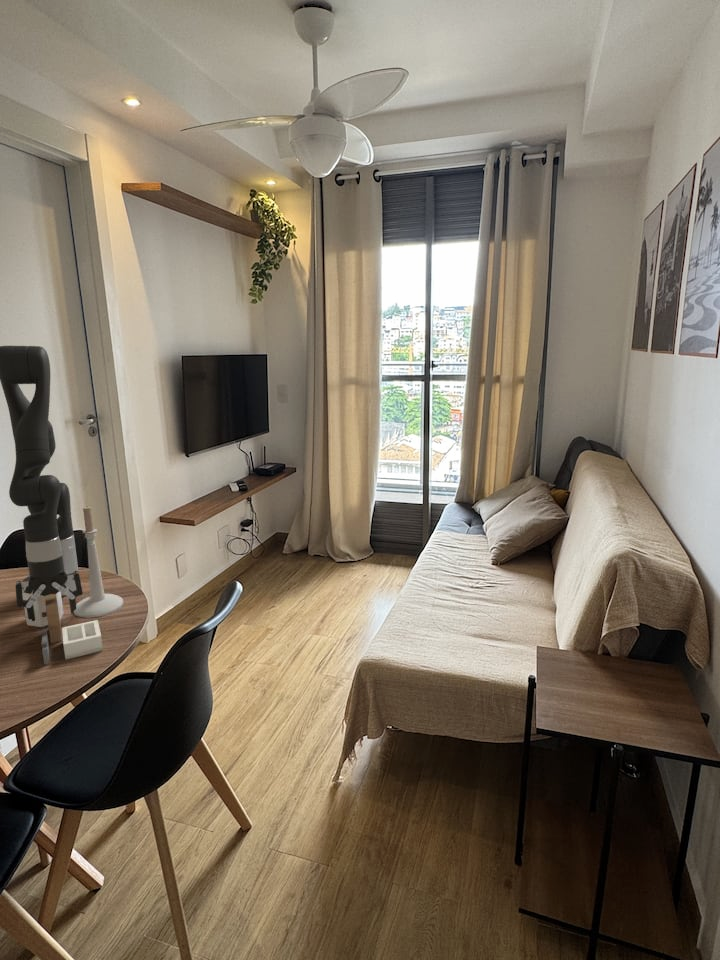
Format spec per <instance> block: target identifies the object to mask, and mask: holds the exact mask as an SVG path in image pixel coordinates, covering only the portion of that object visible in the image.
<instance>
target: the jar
mask: <svg viewBox="0 0 720 960" xmlns="http://www.w3.org/2000/svg"><path fill="white" fill-rule="evenodd" d="M29 579H30V576H27V577H25V578H24V579H22V581H21V582H26V581H29ZM32 592H33V589H31V588H30V587H29V586H27V587H26V589H25V591H22V594H23V600H28V598H29V597H30V595H31V593H32ZM56 596H57V604H58V611H59V618H60V621H61V619H62V618H63V616H64V606H63V600H62V596H61V592H60V591H59V592H58V593H57V594H56ZM33 606H34V613H35V621H32V619H30V620H29V619H28V614H27V608H26V607H23V609H24V613H25V614H24V615H25V620H26V625H27V626H30V627H37V628H38V627H39V628H43V627H46V626H47V627H48V620H47V617H43V618H42V612H46V605H45V596H43V595H39V597H38V598H37V600H36V601H35V602H34V603H33Z"/></svg>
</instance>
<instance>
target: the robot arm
mask: <svg viewBox="0 0 720 960" xmlns="http://www.w3.org/2000/svg"><path fill="white" fill-rule="evenodd" d="M0 384H1V387H2V390H3V394H4V398H5V400H6V401H5V402H6V405H7V409H8V413H9V418H10V423H11V424H10V425H11V429H12V436H13V440H14V446H15V447H14V449H15V465H14V471H13V475H12V479H11V482H10V485H9V489H8V494H9V499H10V500H11V502H12V504H14V505H15V506H18V507H27V509H28V513H29V514H30V515H26V516H24V519H23V520H22V523H23V525H22V526H23V532H24V538H25V539H24V540H25V553H26V554H25V557H26V561H27V568H28V574H29V576H30V579H29V581H26V582H22V581H21V580H17V581H16V582H15V595H16V596H15V597H16V607H17V608H24V607H26V608H27V614H28V619H29V620H30V619H32V621H35V613H34V606H33V603H34V602H35V601H36V600H37V598H38V597H39V595H43V596H47V595H49V594H57V593H58V592H59V591H60V592H61V597H64V596H66V597H67V598H68V600H69V609H70V613H71V614H74V610H76V604H77V601H76V598H77V597H79V596H82V595H83V594H84V592H83V588H82V583H81V578H80V573H79V566H78V565H79V564H78V557H77V550H76V542H75V541H76V540H75V533H74V528H73V520H72V511H71V510H72V509H71V508H72V507H71V493H70V490H69V487H68V484H66V483H65V482H61V481H60V480H59V479H58V477H56V476H54V475H53V474H52V475H51V474H45V475H44V474H43V475H41V473H42V472H43V471H44V469H45V468H46V466H47V465H49V464H50V462H51V458H52V457H53V455H54V454H55V449H56V448H57V447H56V440H55V434H54V433H55V432H54V428H53V424H52V422H50V420H49V416H50V400H51V399H50V398H51V397H50V396H51V364H50V358H49V354H48V352H47V350H46V349H45V348H44V347H42V346H40V345H39V346H38V345H37V346H36V345H0ZM20 385H35V390H34V394H33V396H32V399H31V401H30V400H29V399H28V398H27V397H26V396H25V394H24V392H23V391H22V389H21V387H20ZM57 516H58V517H57ZM29 576H28V577H29ZM27 586H29V587H30V588H31V589H33V592H32V593H31V595H30V597H29V598H28V600H23V594H22V593H23V591H25V589H26V587H27Z"/></svg>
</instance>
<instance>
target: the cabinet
mask: <svg viewBox="0 0 720 960" xmlns="http://www.w3.org/2000/svg"><path fill="white" fill-rule="evenodd" d="M99 625H100V624H99V620H98V619H95V620H92V621H86V622H82V623H77V624H73V625H68V626H64V627H61V635H62V643H63V651H64V652H63V653H64V658H65V660H66V661H67V660H70V659H74V658H78V657H82V656H87V655H91V654H95V653H98V652H102V651H104V649H103V641H102V639H103V638H102V634H101V628H100V626H99ZM40 632H41V650H42V657H43V664H44V666H45V665H47V666H48V665H50V643H49V638H48V637H49V636H48V631H47V629H46V628H42V629H41V631H40Z"/></svg>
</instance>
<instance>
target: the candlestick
mask: <svg viewBox="0 0 720 960" xmlns="http://www.w3.org/2000/svg"><path fill="white" fill-rule="evenodd" d="M82 510H83V511H82V512H83V519H84V528H85V529H84V530H82V533H83V534H84V537H85V539H87V544H86V545H87V558H88V560H87V561H88V575H89V576H88V577H89V592H90V594H89V595H90V596H87V597H84V598H83V599H82V600H80V601H79V602H76V610H74V613H73V614H74V615H75V616H76V617H79V618H84V619H87V618H88V619H89V618H90V619H93V618H100V617H104V616H108V615H110V614H113V613H115V612H116V611H119V610H120V609H121V608H122V607H123V606H124V599H123V598H122V597H121V596H120V595H116V594H113V593H105V590H104V584H103V579H102V574H101V567H100V562H99V558H98V557H99V556H98V550H97V547H96V546H97V545H96V542H95V537H96V532H97V531H98V529H97V528H95V527H94V521H93V520H94V519H93V511H92V510H93V509H92V507H91V506H84V507H83V508H82Z"/></svg>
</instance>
